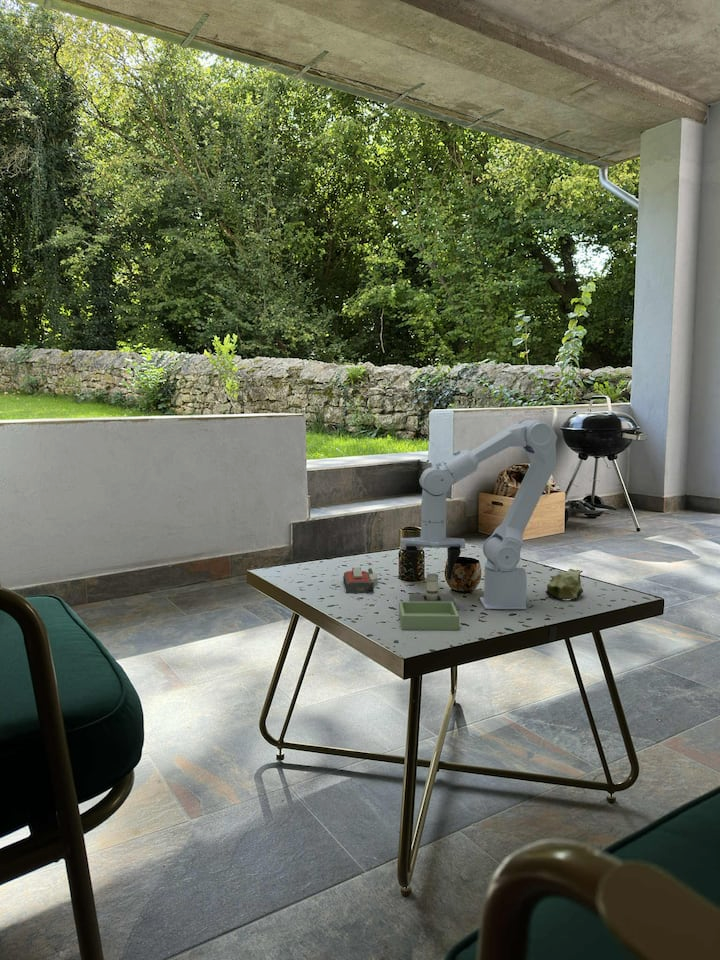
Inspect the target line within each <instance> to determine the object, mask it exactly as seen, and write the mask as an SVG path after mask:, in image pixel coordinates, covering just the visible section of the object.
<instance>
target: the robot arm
mask: <svg viewBox="0 0 720 960" xmlns="http://www.w3.org/2000/svg"><path fill="white" fill-rule="evenodd" d="M557 440H558V436H557V434H556V432H555V430H554V427H553V426H552V424H550V423H549V422H548V421H546V420H542V419H541V420H537V419H534V418H523V419H521V420H519V422H516V423H514V424H511V425H509V426H507V427H506V428H504V429H503V430H501V431H500V432H499V433H497V434H495V435H494V436H492V437H491V438H489V439H487V440H486V441H484V442H483V443H482V444H480V445H478V446H476V447H475V448H474V449H473V450H468V449H461V450H459V449H456V450H454V451H453V452H452V454H453V455H451V456H450V457H447V458H446V459H445V460H443V461H441V462H440V461H437V462H435V467H428V468H426V469H424V471H423V472H422V473H421V475H420V478H418V479H419V480H418V481H419V485H420V487H421V488H422V491H421V501H420V502H421V507H420V508H421V509H420V514H421V515H420V536H418V537H415V536H414V537H401V539H400V547H401V549H405V550H406V553H407V555H408V558H409V560H410V564H411V568H412V572H413V574H412V575H413V580H418V557H419V556H418V555H419V554H418V553H419V552H418V548H419V549H420V548H426V549H427V548H428V549H431V548H433V549H434V548H436V549H440V548H441V549H442V548H443V549H444V548H446V549H447V566H446V579H447V580H449V581H451V578H452V575H453V570H454V567H455V565H456V564H457V561H458V559H459V557H460V555H461V553H462V550H464V549H466V539H465V538H457V537H456V538H455V537H446V536H447V493H448V491H449V490H450V488H451V486H453V485H455V484H456V483H458V482H460V481H462V480H463V479H465V478H467V477H468V476H470V475H472V474H474V473H475V472H477V470H478V467H479V464H480V463H482V462H484V461H486V460H487V459H490V458H492V457H493V456H495V455H497V454H498V453H501V452H502V451H504V450H506V449H508V448H510V447H516V448H518V447H520V448H521V447H522V448H523V449H524V451H525V452H526V454H527V457H528V459H529V461H530V463H529V467H528V468H527V471H526V472H525V475H524V476H523V479H522V481H521V483H520V484H519V487H518V490H517V491H516V494H515V496H514V498H513V500H512V502H511V504H510V506H509V508H508V510H507V512H506V514H505V516H504V519H503V520H502V523H501V524H500V525H498V526H497V527H496V528H495V529H494V531H493V533H492V534H491V535H490V536H489V537H488V538H487V539H485V541H484V543H483V545H482V552H483V555H484V557H485V558H486V562H485V564H484V586H483V587H484V588H483V590H484V591H483V596H480V597H479V600H480V603H481V604H482V605H483V607H484V609H486V610H527V587H528V586H527V584H528V582H527V581H528V580H527V578H528V577H527V573H526V570H525V568H524V567H518V565H519V563H520V561H521V560H520V559H521V549H522V548H523V545H524V536H523V534H524V532H525V529H526V528H527V526H528V523H529V522H530V519H531V517H532V516H533V513H534V511H535V509H536V508H537V505H538V503H539V501H540V499H541V496H542V495H543V493H544V490H545V489H546V486H547V484H548V483H549V480H550V478H551V476H552V474H553V472H554V470H555V468H556V464H557V449H556V448H557V447H556V443H557ZM461 549H462V550H461Z"/></svg>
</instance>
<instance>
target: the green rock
mask: <svg viewBox="0 0 720 960" xmlns="http://www.w3.org/2000/svg"><path fill="white" fill-rule="evenodd" d="M582 573H583V570H580V569H573V568H569V569H568V570H566V571H564V572H563V571H560V572H557V574H555V575H551V576H549V578H551V579H550V581H549V583H548V584H547V585H546V587H547V588H546V591H545V593H549V594H550V595H552V596H553V597H555V598H556V599H559V600H561V599H573V600H577V599H578V597H579V596H580V595H582V594H583V593H584V589H583V586H582V581H581V574H582ZM577 596H578V597H577ZM575 598H576V599H575Z"/></svg>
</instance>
